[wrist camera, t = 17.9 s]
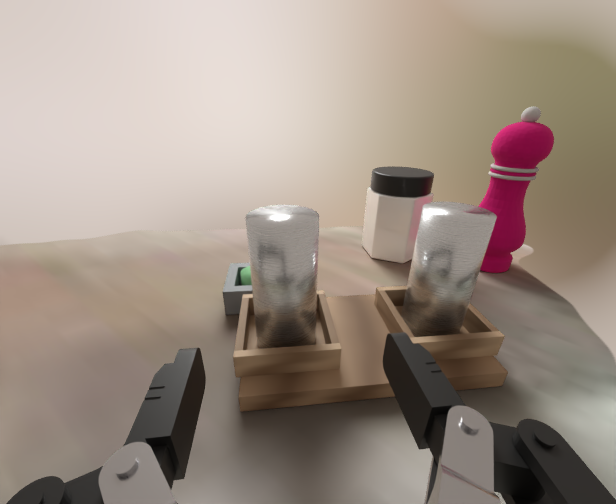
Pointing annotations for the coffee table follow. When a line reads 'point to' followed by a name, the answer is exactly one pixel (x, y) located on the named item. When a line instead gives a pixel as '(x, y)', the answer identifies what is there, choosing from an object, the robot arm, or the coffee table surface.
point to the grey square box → (235, 288)
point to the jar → (395, 211)
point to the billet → (284, 274)
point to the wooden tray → (356, 353)
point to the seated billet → (445, 266)
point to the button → (246, 276)
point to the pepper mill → (513, 185)
